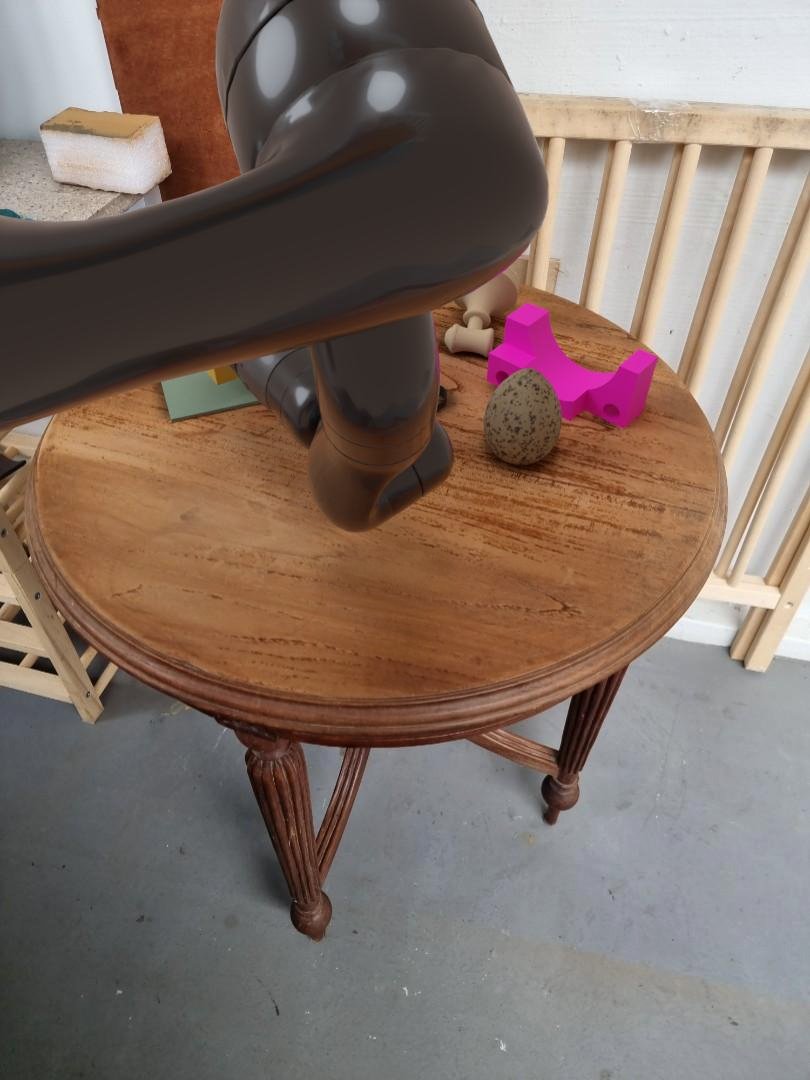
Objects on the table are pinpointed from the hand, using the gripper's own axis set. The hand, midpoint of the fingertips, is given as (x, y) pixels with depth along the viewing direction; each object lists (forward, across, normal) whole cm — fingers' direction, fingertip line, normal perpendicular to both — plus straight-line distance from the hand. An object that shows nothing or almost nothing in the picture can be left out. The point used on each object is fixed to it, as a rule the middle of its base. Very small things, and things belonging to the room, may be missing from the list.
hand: (203, 274), depth 75 cm
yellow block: (-3, 0, +9) cm, 9 cm away
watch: (-15, -14, +12) cm, 24 cm away
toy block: (-23, -28, +12) cm, 38 cm away
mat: (0, 0, +12) cm, 12 cm away
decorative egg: (-27, -19, +12) cm, 35 cm away
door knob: (-8, -28, +12) cm, 31 cm away
